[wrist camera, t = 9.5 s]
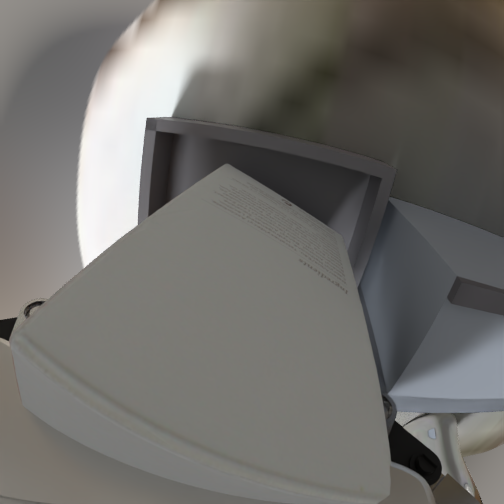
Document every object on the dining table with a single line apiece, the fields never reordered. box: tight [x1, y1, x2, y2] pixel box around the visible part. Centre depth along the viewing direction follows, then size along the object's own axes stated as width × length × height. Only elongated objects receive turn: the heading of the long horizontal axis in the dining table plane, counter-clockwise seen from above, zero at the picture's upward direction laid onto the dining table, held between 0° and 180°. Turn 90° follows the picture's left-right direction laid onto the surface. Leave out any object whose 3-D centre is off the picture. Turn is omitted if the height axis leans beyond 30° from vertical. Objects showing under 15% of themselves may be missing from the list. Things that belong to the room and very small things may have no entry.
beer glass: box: [403, 413, 483, 504], centre depth 13 cm, size 7×7×15 cm
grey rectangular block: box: [357, 197, 504, 413], centre depth 10 cm, size 10×5×8 cm, turn 80°
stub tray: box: [138, 117, 397, 288], centre depth 14 cm, size 10×12×2 cm
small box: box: [9, 164, 391, 504], centre depth 9 cm, size 8×6×10 cm
